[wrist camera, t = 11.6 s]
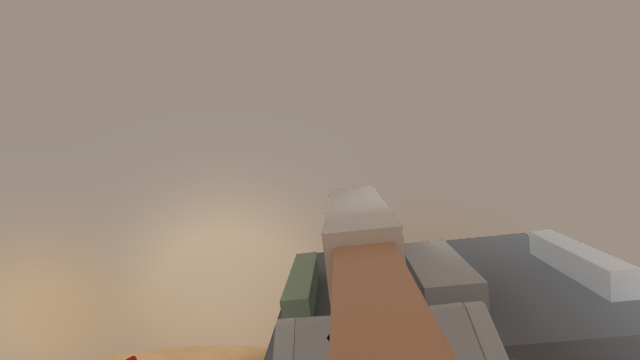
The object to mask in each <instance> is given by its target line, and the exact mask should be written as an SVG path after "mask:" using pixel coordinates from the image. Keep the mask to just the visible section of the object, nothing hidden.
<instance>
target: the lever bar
mask: <svg viewBox="0 0 640 360" xmlns="http://www.w3.org/2000/svg"><path fill="white" fill-rule="evenodd" d="M322 241H323V249H324V258H325V266H326V275H327V283H328V292H329V300H330V306H331V317H330V341H329V360H458V359H457V358H456V356H455V354H454V352H453V350H452V348H451V347H450V345H449V343H448V341H447V339H446V337H445V336H444V334H443V332H442V330H441V328H440V326H439V324H438V323H437V321H436V319H435V317H434V315H433V313H432V312H431V310H430V308H429V306H428V304H427V302H426V301H425V299H424V297H423V295H422V293H421V291H420V290H419V288H418V286H417V284H416V282H415V280H414V279H413V277H412V275H411V273H410V271H409V269H408V267H407V266H406V260H405V250H404V240H403V229H402V225H401V224H400V222H399V221H398V220H397V218H396V217H395V216H394V214H393V213H392V212H391V210H390V209H389V208H388V207H387V205H386V204H385V202H384V201H383V199H382V198H381V197H380V195H379V194H378V193H377V191H376V190H375V189H374V187H373V186H362V187H353V188H344V189H336V190H329V195H328V201H327V206H326V212H325V218H324V224H323V230H322Z"/></svg>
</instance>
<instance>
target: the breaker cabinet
mask: <svg viewBox="0 0 640 360" xmlns="http://www.w3.org/2000/svg"><path fill="white" fill-rule="evenodd" d="M404 250H405V260H406V266H407V267H408V269H409V271H410V273H411V275H412V277H413V279H414V280H415V282H416V284H417V286H418V288H419V290H420V291H421V293H422V295H423V297H424V299H425V301H426V302H427V304H428V306H431V305H440V304H450V303H459V302H461V303H465V302H474V301H483V303H484V304H485V305H486V307H487V309H488V312H489V314H490V316H491V319H492V321H493V323H494V326H495V328H496V330H497V333H498V335H499V337H500V340H501V342H502V344H503V346H504V349H505V351H506V353H507V356H508V358H509V360H640V268H639V267H636V266H634V265H632V264H629V263H627V262H625V261H622V260H620V259H617V258H616V257H613V256H611V255H609V254H606V253H604V252H602V251H599V250H597V249H594V248H592V247H590V246H588V245H585V244H583V243H581V242H578V241H576V240H574V239H571V238H569V237H567V236H565V235H562V234H560V233H557V232H555V231H553V230H550V229H549V230H539V231H529V235H528V234H525V233H519V234H509V235H498V236H488V237H477V238H467V239H457V240H447V241H445V240H436V241H426V242H416V243H405V244H404ZM280 306H281V311H280V314H279V316H278V319H286V318H300V317H313V316H326V315H331V306H330V300H329V292H328V283H327V275H326V266H325V258H324V252H322V253H317V252H313V253H302V254H296V257H295V260H294V263H293V266H292V269H291V271H290V275H289V277H288V280H287V283H286V286H285V288H284V291H283V294H282V297H281V300H280ZM275 326H276V325H275ZM274 338H275V328H274V331H273V334H272V338H271V340H270V343H269V346H268V349H267V352H266V355H265V358H264V360H273V349H274Z"/></svg>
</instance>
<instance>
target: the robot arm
mask: <svg viewBox="0 0 640 360" xmlns="http://www.w3.org/2000/svg"><path fill="white" fill-rule="evenodd" d="M429 308H430V310H431V312H432V313H433V315H434V317H435V319H436V321H437V323H438V324H439V326H440V328H441V330H442V332H443V334H444V336H445V337H446V339H447V341H448V343H449V345H450V347H451V348H452V350H453V352H454V354H455V356H456V358H457V359H458V360H509V358H508V356H507V353H506V351H505V349H504V346H503V344H502V342H501V340H500V337H499V335H498V333H497V330H496V328H495V326H494V323H493V321H492V319H491V316H490V314H489V312H488V309H487V307H486V305H485V304H484V303H483V301H474V302H465V303H461V302H459V303H450V304H440V305H431V306H429ZM330 317H331V315H326V316H313V317H300V318H286V319H278V320H277V323H276V326H275V338H274V349H273V360H329V341H330Z"/></svg>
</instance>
